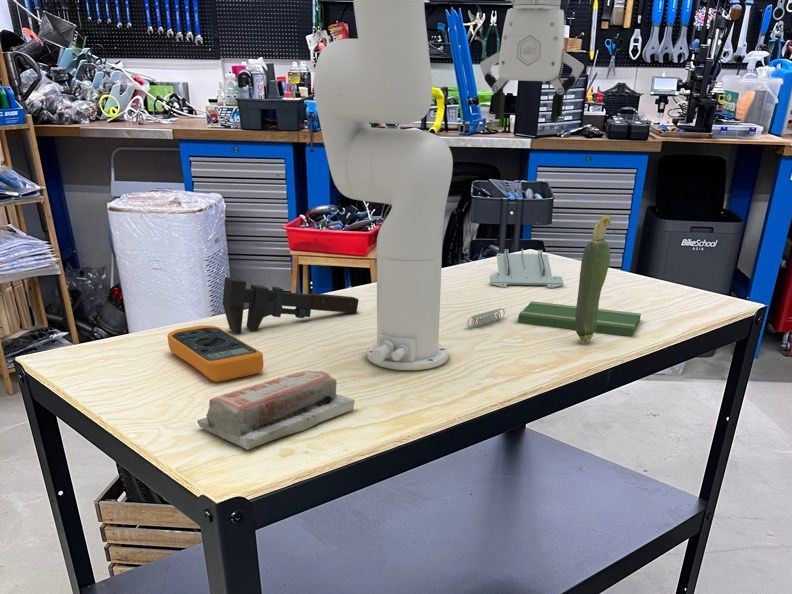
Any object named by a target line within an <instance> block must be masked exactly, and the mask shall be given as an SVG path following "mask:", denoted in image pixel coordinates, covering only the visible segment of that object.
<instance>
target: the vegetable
mask: <svg viewBox="0 0 792 594" xmlns="http://www.w3.org/2000/svg"><path fill="white" fill-rule="evenodd" d="M611 223H612V221H611V216H610V214H606V215H604V216H602V217H599V220H598V221H597V223H596V224H595V226H594V227H593V231H592V239H591V240H590V241H589V242H588V243H587V244H586V245H585V248H584V249H583V253H582V258H581V262H580V263H581V264H580V271H579V280H578V281H579V282H578V290H577V299H576V305H575V306H576V313H575V327H576V330H575V332H576V334H577V336H578V338H579V340H580V342H581V344H584V343H588V342H589V341H591V340H592V339H593V337H594V334H595V333H596V332H595V329H596V322H597V315H598V309H599V306H600V304H599V303H600V298H601V293H602V289H603V286H604V284H605V282H606V278H607V274H608V270H609V266H610V261H611V249H610V248H611V247H610V245H609V243H608V242H607V241H606V240H605V239H606V232H607V225H608V226H611Z"/></svg>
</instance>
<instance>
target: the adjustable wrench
mask: <svg viewBox="0 0 792 594" xmlns="http://www.w3.org/2000/svg"><path fill="white" fill-rule="evenodd" d="M269 289H270V288H268V287H266V286H264V285H259V284H250V288H247V281H246V280H243V279H241V278H238V277H228V276H225V277H224V284H223V294H222V307H223V310H224V315H225V316H226V317H225V318H226V321H227V324H228V328H229V330H231V331H232V332H233V333H235V334H242V329H243V328H242V327H243V318H244V317H243V315H244V310H245V309H244V308H245V304H248V310H247V320H246V328H247V329H249V330H250V331H252V332H258V329H259V327H260V326H261V323H262V321H263V320H264V318H266V317H269V316H271V317H273V318H281V315H290V316H291V315H294V316H295V318H297V319H304V318H310V317H311V312H312V311H321V312H334V313H345V314H346V313H347V314H357V313H358V308H359V307H358V306H359V300H360V299H359V298H357V297H354V296H350V295H349V296H348V295H337V294H326V293H315V292H308V293H302V292H301V293H300V292H289V291H284V290H285V289H284V288H282V287H279V286H274V285H273V286H272V287H271V290H269ZM286 307H289V308H286ZM290 307H291V308H290ZM292 307H293V308H292Z"/></svg>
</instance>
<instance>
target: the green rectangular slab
mask: <svg viewBox="0 0 792 594" xmlns="http://www.w3.org/2000/svg"><path fill="white" fill-rule="evenodd" d="M576 306H577V305H569V304H561V303H560V304H559V303H550V302H544V301H543V302H542V301H533V300H531V301H529V303H528V305H526V307H525V308H524V309H523V310H521V311H520V312H519V313H518V316H517V317H518V318H517V323H519V324H528V325H535V326H543V327H550V328H559V329H569V330H575V331H576V327H575V313H576ZM641 316H642V313H639V312H629V311H621V310H611V309H604V308H598V315H597V322H596V329H595V332H594V333H601V334H610V335H617V336H624V337H633V336H634V333H635V332H636V330H637V328H638V325H639V323H640V322H641Z"/></svg>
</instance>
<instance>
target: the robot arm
mask: <svg viewBox="0 0 792 594" xmlns="http://www.w3.org/2000/svg"><path fill="white" fill-rule="evenodd" d="M504 1H505V2H509V3H511V5H512V8H508V9H507V11H506V15H505V19H504V24H503V29H502V35H501V41H500V42H501V43H500V50H499V51H498V52H495V53H494V54H491V55H490V56H489V57H487V58H485V59H483V60H481V61H480V63H479V67H480V70H481V72H482V75H483V77H484V81H485V83H486V84H487V85H488V86H489V88H490V89H491V91H492V92H493V101H492V115H494V120H502V119H504V114H505V98H506V94H505V92H504V89H505V87H506V86H507V85H508V84H509V82H510V81H522V82H523V81H524V82H525V81H527V82H550V84H551V85H552V87H553V89H554V90H555V91H554V92H555V93H554V94H553V96H552V102H551V113H550V122H551V123H557V122H558V121H559V117H562V116H563V109H564V108H563V107H564V100H565V99H564V98H565V95H566V94H567V92H568V91H569V90H570V89H571V88H572V87H573V86H574V85H575V84H576V83H577V81H578V79H579V78H580V76H581V74H582V72H583V71H584V69H585V64H583V63H582V62H580V61H579V60H577V59H576V58H574V57H573V56H572V55H570V54H568V53H567V52H566V51H565V11H564V9H561V2H562V1H561V0H504ZM353 12H354V17H355V18H354V19H355V25H356V33H357V38H340V39H336V40H333V41H330V42H329V43H327V45H326V46H324V47H323V48H322V49H321V51H320V53H319V55H318V57H317V60H316V63H315V68H314V75H313V93H314V100H315V106H316V112H317V117H318V120H319V126H320V130H321V135H322V139H323V140H322V141H323V144H324V150H325V153H326V158H327V163H328V167H329V171H330V175H331V178H332V181H333V184H334V185H335V187H336V189H337V190H338V191H339V193H340V194H341V195H343V196H344V197H346V198H348V199H351V200H354V201H355V200H356V201H362V202H370V203H379V204H385V205H389V206H391V208H390V211H389V213H388V214H387V216H386V217H385V219H384V221H383V222H382V224H381V226H380V228H379V230H378V234H377V237H376V342H375V343H372V344H371V345H370V346H369V347H368V348H367V350H366V357H367V359H368V361H369V362H370V363H372V364H374V365H375V366H378V367H382V368H385V369H391V370H397V371H423V370H428V369H433V368H437V367H440V366H442V365H443V364H445V363H446V362H447V361H448V359H449V351H448V348H446V347H445V346H444V345H442V344H440V343H439V341H440V340H439V338H440V337H439V336H440V315H441V314H440V313H441V312H440V311H441V291H442V289H441V288H442V287H441V286H442V266H443V265H442V264H443V263H442V261H443V238H444V237H443V236H444V224H445V214H446V207H447V202H448V196H449V192H450V188H451V187H450V186H451V182H452V178H453V169H454V168H453V166H454V159H453V154H452V151H451V148H450V146H449V144H447V142H446V140H444V139H443V138H441V137H440V136H439V135H437V134H435V133H433V132H429V131H425V130H419V129H408V128H386V127H384V128H383V127H372V126H371V125H370V124H384V125H386V124H387V125H404V124H405V125H406V124H412V123H417V122H419V121H420V120H422V119H424V118H425V117H426V115H428V113H429V111H430V109H431V106H432V102H433V80H432V79H433V77H432V69H431V67H432V66H431V60H430V59H431V58H430V49H429V40H428V31H427V22H426V21H427V20H426V11H425V0H353ZM496 64H498V69H497V70H498V76H499V77H498V78H496V77H495V76H494V74H493V73H492V67H493V66H495V65H496ZM564 64H565V65H566V66H568V67H570V68H571V69H572V71H571V73H570V75H569V77H568V78H567V79H566V80H565V81H563V80H562V78H561V76H562V74H563V68H564ZM370 126H371V127H370Z"/></svg>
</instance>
